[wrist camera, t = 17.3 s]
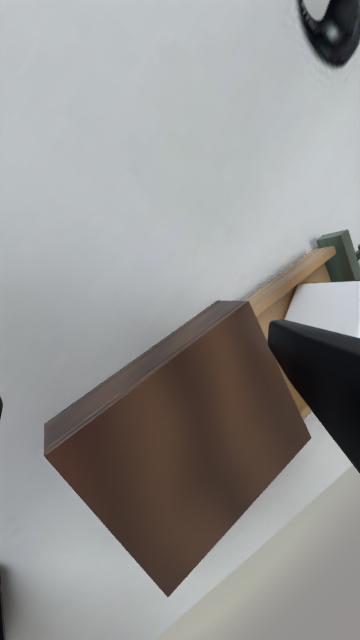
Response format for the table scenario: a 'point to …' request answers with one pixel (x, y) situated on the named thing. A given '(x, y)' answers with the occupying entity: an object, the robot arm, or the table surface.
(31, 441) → the table surface
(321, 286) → the medicine bottle
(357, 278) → the drawer
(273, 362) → the cabinet
